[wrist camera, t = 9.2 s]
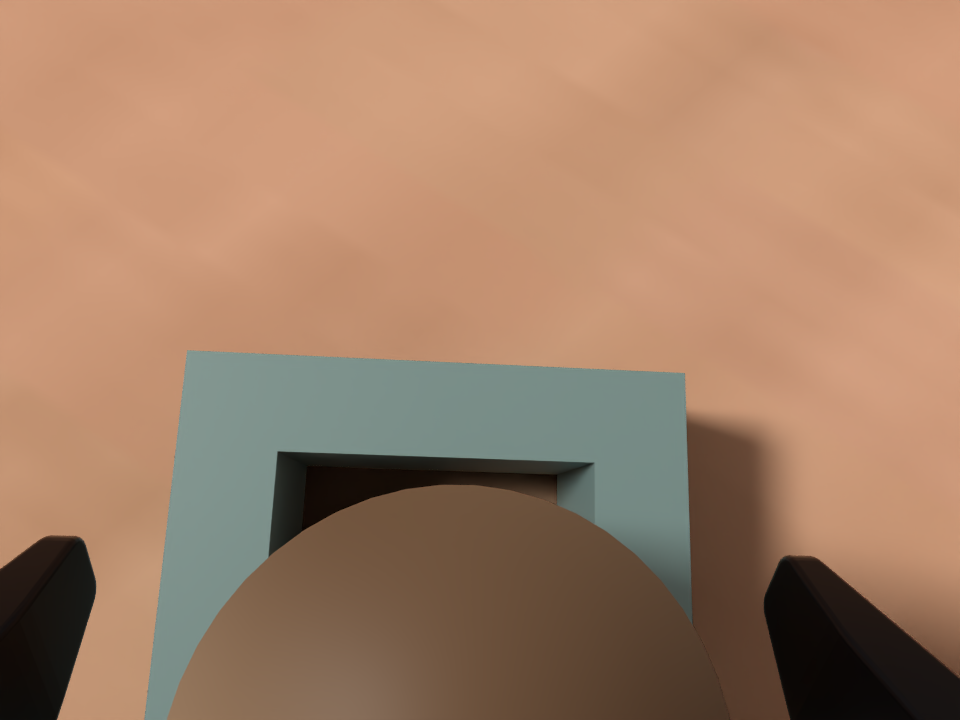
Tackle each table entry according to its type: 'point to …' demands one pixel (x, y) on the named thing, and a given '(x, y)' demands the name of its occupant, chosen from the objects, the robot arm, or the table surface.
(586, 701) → the peg
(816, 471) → the table surface
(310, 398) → the socket block
